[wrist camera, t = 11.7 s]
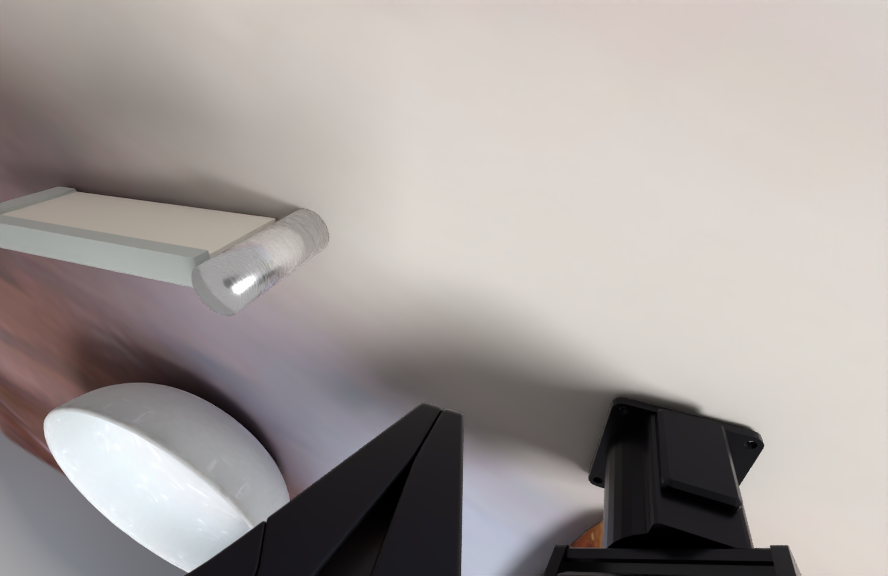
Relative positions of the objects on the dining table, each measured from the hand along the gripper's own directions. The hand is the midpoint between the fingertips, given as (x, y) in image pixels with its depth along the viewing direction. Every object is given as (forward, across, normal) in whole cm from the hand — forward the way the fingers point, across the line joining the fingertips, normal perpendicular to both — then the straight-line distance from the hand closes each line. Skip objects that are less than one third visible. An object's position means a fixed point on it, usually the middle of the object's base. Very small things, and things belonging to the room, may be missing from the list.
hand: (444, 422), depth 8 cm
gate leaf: (+12, +22, +3) cm, 25 cm away
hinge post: (+12, +12, +3) cm, 17 cm away
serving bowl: (+12, +25, +26) cm, 38 cm away
